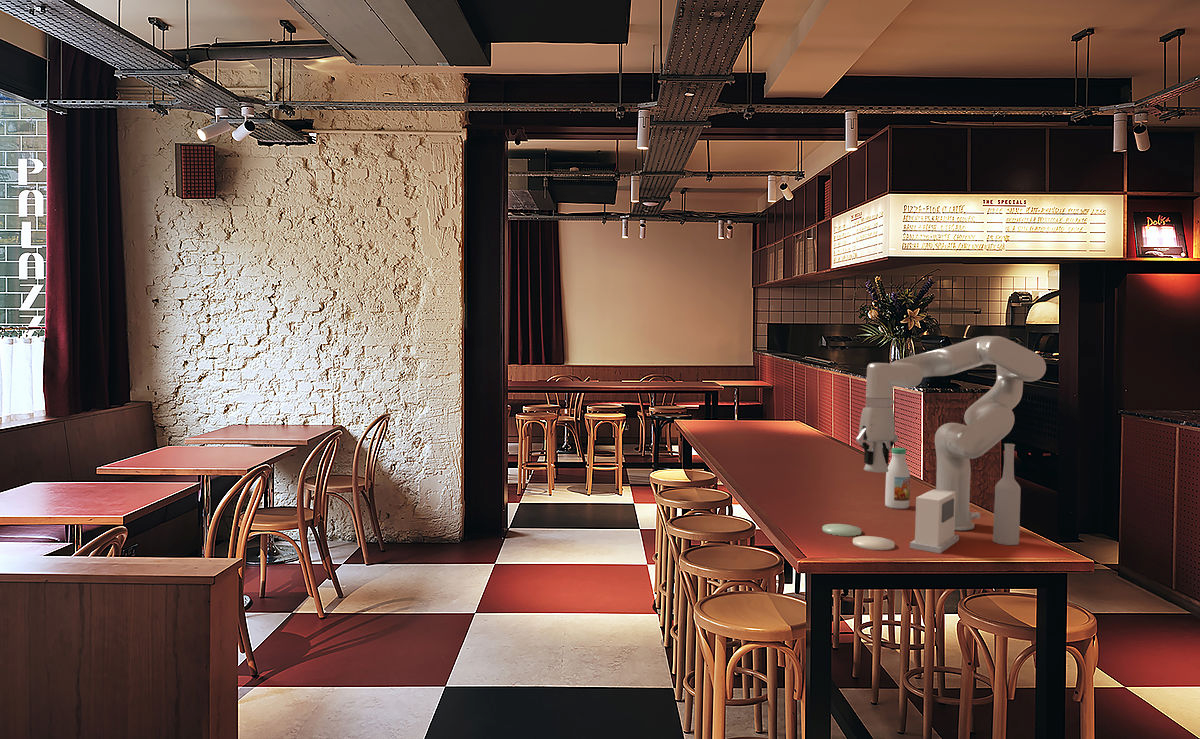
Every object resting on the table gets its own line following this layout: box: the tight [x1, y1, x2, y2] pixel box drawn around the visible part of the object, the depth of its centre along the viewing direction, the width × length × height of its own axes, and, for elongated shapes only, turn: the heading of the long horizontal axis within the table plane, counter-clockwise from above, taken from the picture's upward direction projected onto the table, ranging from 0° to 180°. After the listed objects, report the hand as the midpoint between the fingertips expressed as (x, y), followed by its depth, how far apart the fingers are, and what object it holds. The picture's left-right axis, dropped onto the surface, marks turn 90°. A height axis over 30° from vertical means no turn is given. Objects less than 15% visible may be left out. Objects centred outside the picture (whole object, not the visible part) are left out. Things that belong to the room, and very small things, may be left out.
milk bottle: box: [884, 447, 911, 510], centre depth 271 cm, size 8×8×20 cm
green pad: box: [821, 523, 862, 537], centre depth 237 cm, size 11×11×1 cm
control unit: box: [909, 488, 960, 554], centre depth 224 cm, size 8×18×14 cm, turn 141°
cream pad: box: [852, 535, 895, 551], centre depth 223 cm, size 11×11×1 cm
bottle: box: [992, 443, 1022, 546], centre depth 226 cm, size 7×7×28 cm
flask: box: [863, 441, 889, 473], centre depth 243 cm, size 7×7×10 cm
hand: (876, 462), depth 243 cm, fingers closed on flask, 5 cm apart
